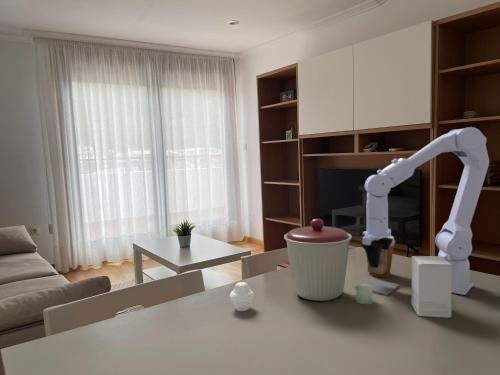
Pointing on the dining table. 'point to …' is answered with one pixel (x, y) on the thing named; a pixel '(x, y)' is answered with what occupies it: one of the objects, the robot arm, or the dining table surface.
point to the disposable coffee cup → (389, 260)
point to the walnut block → (380, 263)
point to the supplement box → (431, 286)
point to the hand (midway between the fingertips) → (377, 265)
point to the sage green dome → (364, 294)
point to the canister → (318, 260)
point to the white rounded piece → (241, 296)
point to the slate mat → (381, 286)
